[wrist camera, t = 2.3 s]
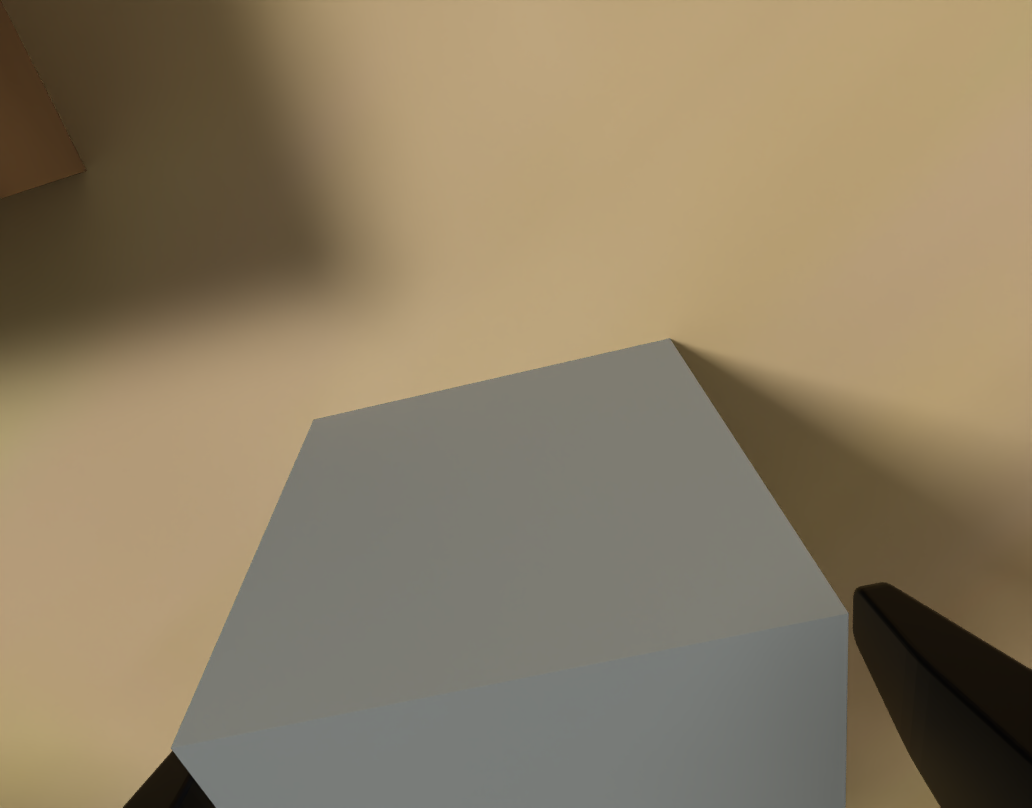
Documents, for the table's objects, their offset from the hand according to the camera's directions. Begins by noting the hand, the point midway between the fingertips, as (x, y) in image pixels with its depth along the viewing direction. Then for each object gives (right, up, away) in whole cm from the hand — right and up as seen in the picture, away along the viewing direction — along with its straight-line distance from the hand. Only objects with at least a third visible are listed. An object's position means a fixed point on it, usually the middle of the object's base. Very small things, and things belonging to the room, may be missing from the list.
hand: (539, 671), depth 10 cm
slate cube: (0, +2, +3) cm, 3 cm away
